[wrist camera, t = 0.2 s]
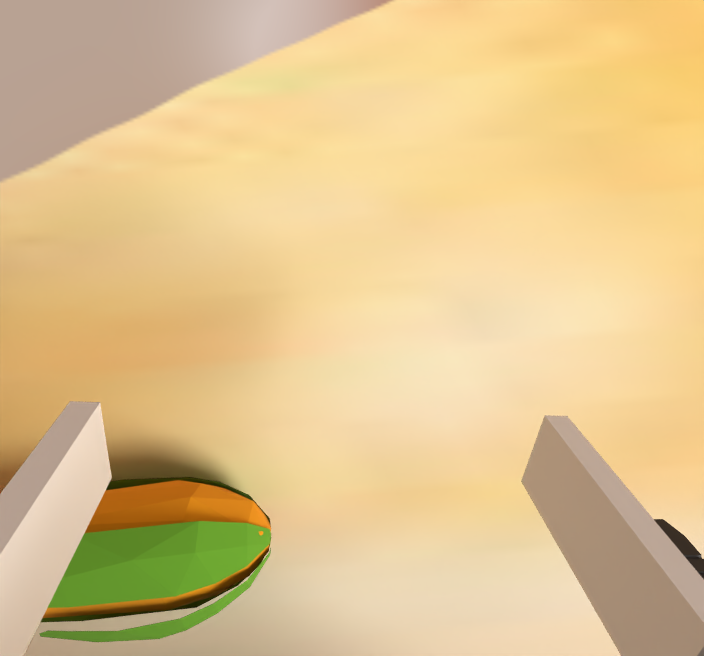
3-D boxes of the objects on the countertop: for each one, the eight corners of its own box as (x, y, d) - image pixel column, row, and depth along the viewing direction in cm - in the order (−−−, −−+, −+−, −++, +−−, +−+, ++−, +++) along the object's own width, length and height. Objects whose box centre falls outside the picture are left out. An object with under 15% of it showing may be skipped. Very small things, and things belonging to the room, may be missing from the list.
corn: (269, 653, 21) (-250, 719, 18) (276, 591, 28) (-92, 631, 25) (265, 480, 22) (-218, 518, 19) (272, 465, 29) (-76, 490, 27)
